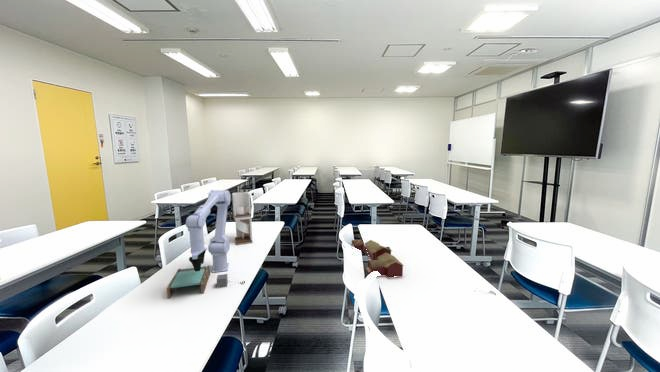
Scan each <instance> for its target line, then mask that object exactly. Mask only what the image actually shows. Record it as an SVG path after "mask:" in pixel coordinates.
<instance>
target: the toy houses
mask: <svg viewBox="0 0 660 372" xmlns="http://www.w3.org/2000/svg"><path fill="white" fill-rule="evenodd" d="M363 241H364V240H363V239H362V238H360V239H353V240H351V243H350V246H351V247H352V246H354V247H355V248H357V249H359V250H361V251H360V252H363V251H364V254H365V255H366V256H367V257H368V258H369V257H370V258H369V260H367V267H365V270H366V272H367V273H368V275H369V274H370V273H371V272H373V271H378V272H379V273H380V274H381V275H386V276H387V277H394V276H402V277H403V275H404V274H403V272H404V270H403V269H404V267H405V265H404V264H403V263H402V262H401V261H400V260H399V259H398V258H397V257H396V256H395V255H392V252H393V250H392V249H391V248H390V246H383V245H381V244H380V243H378V242H376V241H375V240H372V239H370V240H368V241H366V242H363ZM366 249H367V250H366ZM367 252H368V253H367ZM368 255H369V256H368ZM386 276H385V277H386ZM387 277H386V278H387Z"/></svg>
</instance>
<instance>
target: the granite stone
mask: <svg viewBox="0 0 660 372" xmlns="http://www.w3.org/2000/svg"><path fill="white" fill-rule="evenodd" d="M228 277H229V276H228V273H224V274H217V277H216V288H217V289H220V288H228V285H229V284H228V282H229V278H228Z"/></svg>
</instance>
